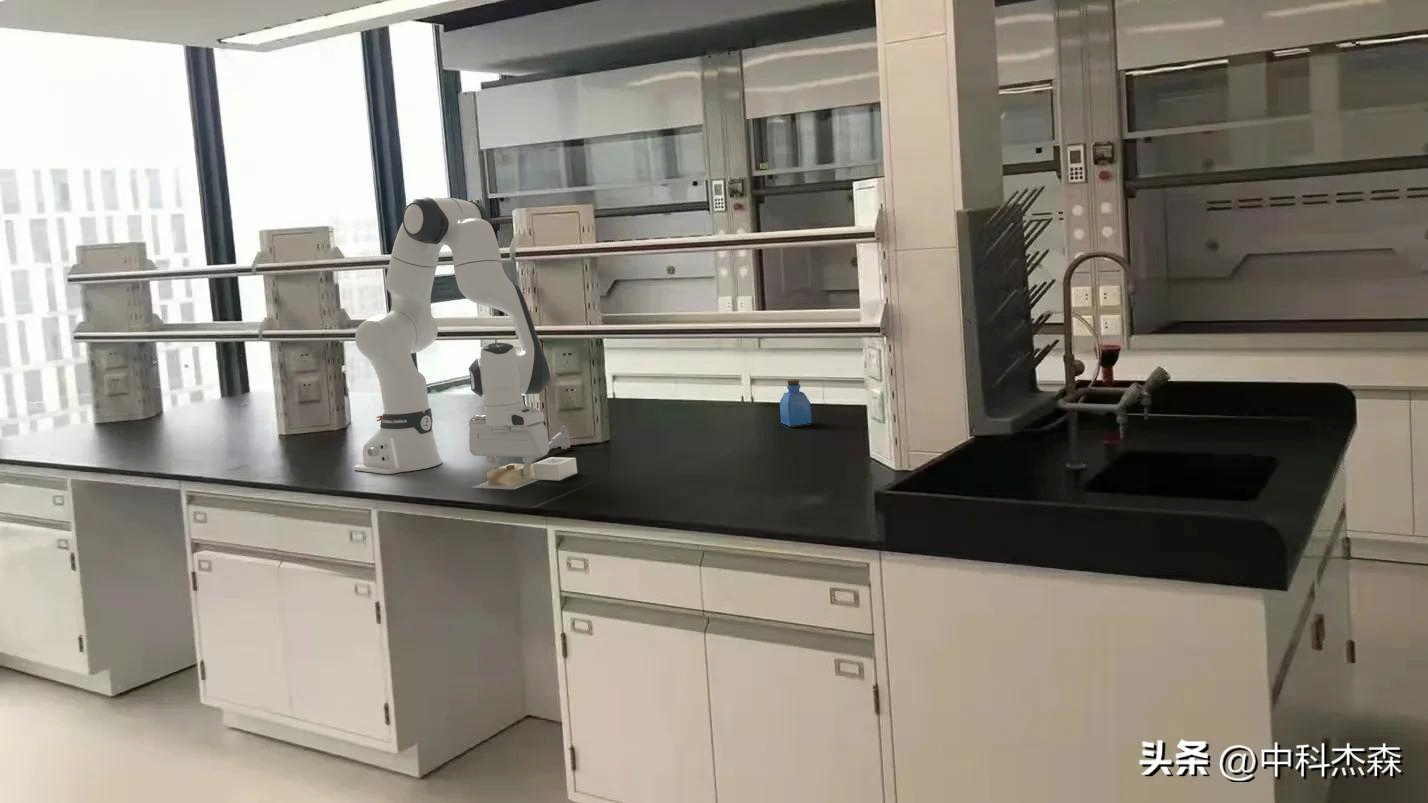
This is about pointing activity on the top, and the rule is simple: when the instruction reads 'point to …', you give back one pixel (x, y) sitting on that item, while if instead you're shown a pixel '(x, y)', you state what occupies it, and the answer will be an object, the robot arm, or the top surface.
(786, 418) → the perfume bottle
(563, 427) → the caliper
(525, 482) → the mat
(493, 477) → the lid
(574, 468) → the dish
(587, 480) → the top surface
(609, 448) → the top surface
